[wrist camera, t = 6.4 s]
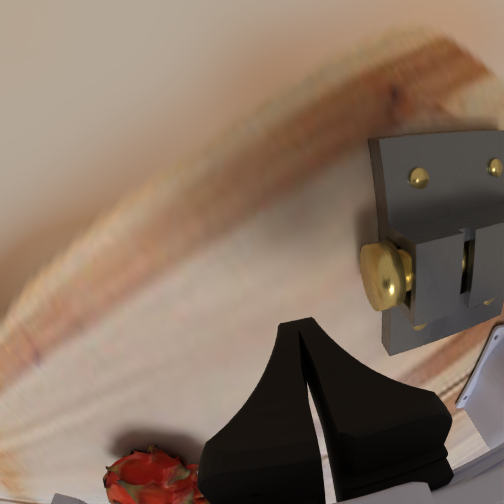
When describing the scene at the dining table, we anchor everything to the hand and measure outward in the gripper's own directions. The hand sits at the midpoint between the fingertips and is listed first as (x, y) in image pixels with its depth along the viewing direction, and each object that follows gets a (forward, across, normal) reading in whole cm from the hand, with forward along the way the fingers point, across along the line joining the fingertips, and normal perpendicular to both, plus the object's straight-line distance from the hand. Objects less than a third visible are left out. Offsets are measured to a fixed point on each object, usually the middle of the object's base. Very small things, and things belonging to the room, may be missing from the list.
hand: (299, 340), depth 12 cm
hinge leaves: (+6, -11, 0) cm, 12 cm away
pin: (+5, -10, 0) cm, 11 cm away
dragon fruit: (+6, +14, +17) cm, 23 cm away
